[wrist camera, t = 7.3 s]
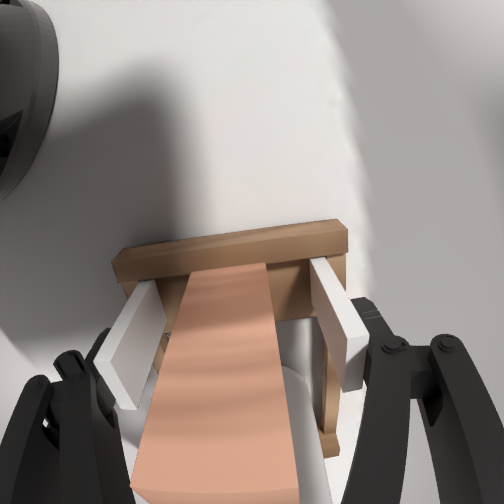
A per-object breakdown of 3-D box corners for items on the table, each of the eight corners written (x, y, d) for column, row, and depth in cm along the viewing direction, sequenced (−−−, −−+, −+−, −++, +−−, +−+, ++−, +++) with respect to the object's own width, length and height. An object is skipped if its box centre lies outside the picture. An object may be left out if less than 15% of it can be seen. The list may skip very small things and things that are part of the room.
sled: (123, 248, 16) (-12, 429, 4) (337, 218, 16) (491, 402, 4) (200, 441, 23) (189, 564, 11) (331, 427, 23) (360, 551, 11)
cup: (234, 435, 23) (233, 555, 12) (182, 382, 20) (157, 532, 9) (321, 408, 22) (350, 537, 11) (285, 346, 19) (314, 519, 8)
